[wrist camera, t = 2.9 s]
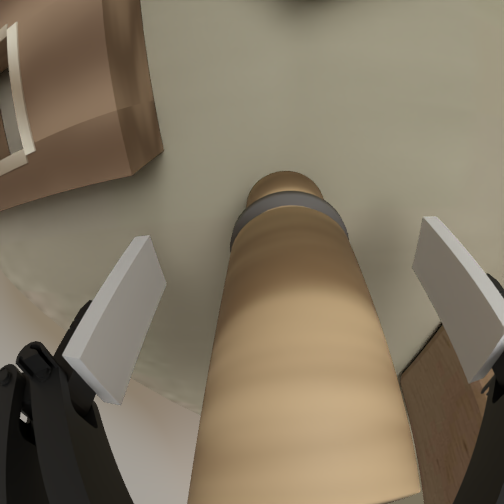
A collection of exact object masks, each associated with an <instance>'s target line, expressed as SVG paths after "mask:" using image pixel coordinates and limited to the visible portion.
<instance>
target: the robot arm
mask: <svg viewBox="0 0 504 504" xmlns="http://www.w3.org/2000/svg"><path fill="white" fill-rule="evenodd" d="M412 269H413V270H414V272H415V274H416V275H417V277H418V279H419V281H420V282H421V284H422V286H423V288H424V290H425V291H426V293H427V295H428V297H429V299H430V301H431V302H432V304H433V306H434V308H435V310H436V312H437V314H438V316H439V318H440V320H441V322H442V324H443V326H444V328H445V330H446V332H447V334H448V336H449V339H450V341H451V343H452V345H453V347H454V350H455V352H456V354H457V356H458V359H459V361H460V363H461V366H462V368H463V371H464V373H465V376H466V378H467V381H468V383H472V382H475V381H477V380H480V379H483V378H484V377H485V376H486V375H487V373H488V372H489V371H490V370H491V368H492V370H493V372H494V375H493V377H492V378H491V379H490V380H489V381H488V383H487V384H486V385H485V386H484V387H483V388H482V391H481V394H483V393H484V392H485V391H486V390H487V389H488V387H489V391H488V392H487V394H486V395H487V401H486V406H485V411H484V415H483V419H482V423H481V427H480V431H479V434H478V438H477V441H476V445H475V448H474V451H473V454H472V457H471V460H470V463H469V465H468V468H467V471H466V473H465V476H464V479H463V481H462V483H461V486H460V488H459V491H458V493H457V495H456V497H455V499H454V502H453V504H504V289H503V288H502V286H501V285H500V283H499V282H498V281H497V280H496V279H495V278H493V277H492V276H491V275H490V274H486V273H485V272H484V271H483V270H482V268H481V267H480V266H479V264H478V263H477V262H476V261H475V259H474V258H473V257H472V256H471V255H470V253H469V252H468V251H467V250H466V248H465V247H464V246H463V245H462V244H461V243H460V241H459V240H458V239H457V238H456V237H455V236H454V235H453V234H452V232H451V231H450V230H449V229H448V228H447V227H446V226H445V225H444V224H443V223H442V221H441V220H440V219H439V218H438V217H437V216H429V217H423V219H422V224H421V230H420V235H419V240H418V244H417V249H416V253H415V258H414V262H413V266H412ZM166 285H167V283H166V281H165V278H164V275H163V272H162V269H161V267H160V264H159V261H158V258H157V255H156V252H155V249H154V246H153V243H152V240H151V237H150V235H146V236H137V237H134V239H133V240H132V242H131V243H130V245H129V246H128V247H127V249H126V250H125V252H124V253H123V255H122V256H121V258H120V259H119V260H118V262H117V263H116V265H115V266H114V268H113V269H112V271H111V273H110V274H109V276H108V277H107V279H106V280H105V282H104V283H103V285H102V287H101V288H100V290H99V291H98V293H97V295H96V296H95V298H94V299H93V300H89V301H88V302H87V303H86V304H85V305H84V306H83V307H82V308H81V309H80V311H79V312H78V314H77V315H76V317H75V319H74V320H75V321H73V322H72V324H71V326H70V329H68V331H67V333H66V334H65V336H64V338H63V340H62V341H61V344H60V345H59V347H58V349H57V351H56V352H55V355H54V356H52V355H51V354H50V352H49V351H48V350H47V349H46V348H45V346H44V345H43V344H42V343H41V342H37V341H35V342H31V343H29V344H28V345H26V346H25V347H24V348H23V349H22V350H21V351H20V353H19V354H18V356H17V359H16V364H17V365H18V366H19V368H20V369H21V370H22V371H23V373H21V372H20V371H19V370H18V369H17V368H16V367H15V366H14V365H12V364H8V365H6V366H4V367H3V368H1V369H0V504H134V503H133V501H132V499H131V497H130V495H129V492H128V490H127V488H126V486H125V484H124V481H123V479H122V476H121V474H120V472H119V469H118V466H117V464H116V462H115V459H114V456H113V453H112V451H111V448H110V445H109V442H108V439H107V436H106V433H105V430H104V427H103V424H102V420H101V417H100V413H99V410H98V407H97V405H96V403H95V402H94V401H93V400H94V397H95V395H96V394H97V395H98V396H99V397H100V398H101V399H102V400H103V401H104V402H107V403H111V404H117V405H121V404H122V401H123V398H124V395H125V392H126V389H127V387H128V384H129V381H130V378H131V375H132V372H133V369H134V367H135V364H136V361H137V358H138V355H139V353H140V350H141V347H142V345H143V342H144V339H145V337H146V334H147V332H148V329H149V326H150V324H151V321H152V319H153V316H154V314H155V311H156V309H157V306H158V304H159V301H160V299H161V297H162V294H163V292H164V289H165V287H166ZM21 412H22V413H23V414H24V415H25V416H27V417H28V418H27V422H26V423H25V422H23V421H22V420H21V419H20V413H21Z"/></svg>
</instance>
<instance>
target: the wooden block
mask: <svg viewBox="0 0 504 504" xmlns="http://www.w3.org/2000/svg"><path fill="white" fill-rule="evenodd" d="M493 375H494V372H493V370H492V368H491V370H490V371H489V372H488V373H487V375H486V376H485V377H484V378H483V379H480V380H477V381H475V382H472V383H468V381H467V378H466V376H465V373H464V371H463V368H462V366H461V363H460V361H459V359H458V356H457V354H456V352H455V350H454V347H453V345H452V343H451V341H450V339H449V336H448V334H447V332H446V330H445V328H444V326H443V324H442V326H441V327H440V329H439V330H438V331H437V333H436V334H435V335H434V337H433V338H432V339H431V340H430V342H429V343H428V344H427V345H426V347H425V348H424V349H423V350H422V352H421V353H420V354H419V355H418V357H417V358H416V359H415V360H414V361H413V363H412V364H411V365H410V366H409V367H408V368H407V369H406V371H405V372H404V373H403V374H402V376H401V380H400V384H401V388H402V392H403V396H404V400H405V403H406V407H407V412H408V416H409V420H410V424H411V429H412V433H413V438H414V443H415V448H416V453H417V458H418V464H419V470H420V476H421V482H422V490H423V497H424V504H453V502H454V499H455V497H456V495H457V493H458V491H459V488H460V486H461V483H462V481H463V479H464V476H465V473H466V471H467V468H468V465H469V463H470V460H471V457H472V454H473V451H474V448H475V445H476V441H477V438H478V434H479V431H480V427H481V423H482V419H483V415H484V411H485V406H486V401H487V395H486V394H487V392H488V391H489V387H488V389H487V390H486V391H485V392H484V393H483V394H481V391H482V388H483V387H484V386H485V385H486V384H487V383H488V381H489V380H490V379H491V378H492V377H493Z"/></svg>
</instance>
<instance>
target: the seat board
mask: <svg viewBox="0 0 504 504" xmlns="http://www.w3.org/2000/svg"><path fill="white" fill-rule="evenodd" d="M8 67H9V75H10V83H11V90H12V97H13V103H14V109H15V114H16V119H17V124H18V128H19V133H20V137H21V141H22V145H23V149H21V150H19V151H17V152H15V153H13V154H11V155H10V152H9V148H8V144H7V140H6V136H5V131H4V127H3V122H2V117H1V111H0V211H3V210H5V209H8V208H11V207H14V206H17V205H20V204H23V203H27V202H30V201H33V200H36V199H40V198H43V197H46V196H50V195H53V194H57V193H61V192H64V191H68V190H72V189H76V188H80V187H84V186H88V185H92V184H96V183H100V182H105V181H109V180H114V179H118V178H123V177H128V176H132V175H134V174H135V173H136V172H137V171H138V170H140V169H141V168H142V167H143V166H145V165H146V164H147V163H148V162H150V161H151V160H152V159H153V158H155V157H156V156H157V155H159V154H160V153H161V152H163V151H164V149H163V144H162V139H161V135H160V130H159V125H158V119H157V114H156V109H155V103H154V98H153V92H152V86H151V80H150V74H149V68H148V61H147V54H146V47H145V40H144V32H143V24H142V15H141V6H140V0H0V73H1V72H3V71H4V70H5V69H6V68H8Z"/></svg>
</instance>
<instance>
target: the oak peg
mask: <svg viewBox="0 0 504 504" xmlns="http://www.w3.org/2000/svg"><path fill="white" fill-rule="evenodd" d="M230 252H231V254H230V260H229V265H228V270H227V275H226V280H225V285H224V290H223V295H222V301H221V306H220V311H219V316H218V322H217V327H216V333H215V338H214V343H213V349H212V355H211V360H210V366H209V371H208V377H207V383H206V389H205V394H204V400H203V406H202V412H201V418H200V424H199V430H198V437H197V443H196V449H195V456H194V462H193V469H192V475H191V482H190V489H189V496H188V503H187V504H387V503H391V502H394V501H397V500H400V499H403V498H406V497H409V496H412V495H414V494H417V493H419V492H421V489H420V482H419V475H418V469H417V463H416V457H415V452H414V447H413V442H412V437H411V432H410V427H409V423H408V419H407V414H406V410H405V406H404V402H403V398H402V394H401V390H400V387H399V383H398V379H397V376H396V372H395V369H394V365H393V362H392V358H391V355H390V352H389V349H388V345H387V342H386V339H385V336H384V333H383V330H382V327H381V324H380V321H379V318H378V315H377V312H376V310H375V307H374V304H373V301H372V298H371V296H370V293H369V290H368V288H367V285H366V282H365V280H364V277H363V275H362V272H361V269H360V267H359V264H358V262H357V259H356V257H355V255H354V252H353V250H352V247H351V245H350V243H349V238H348V233H347V230H346V227H345V225H344V223H343V221H342V219H341V217H340V215H339V214H338V212H337V211H336V210H335V209H334V208H333V207H332V206H331V205H330V204H329V203H328V202H326V201H325V200H324V199H323V196H322V194H321V192H320V190H319V188H318V187H317V185H316V184H315V183H314V182H313V181H312V180H311V179H309V178H308V177H306V176H304V175H302V174H300V173H296V172H291V171H280V172H275V173H272V174H269V175H267V176H265V177H263V178H262V179H261V180H259V181H258V182H257V183H256V184H255V185H254V187H253V188H252V190H251V191H250V193H249V196H248V200H247V205H246V209H245V210H244V211H243V212H242V214H241V215H240V216H239V218H238V220H237V221H236V223H235V226H234V229H233V233H232V237H231V242H230Z"/></svg>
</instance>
